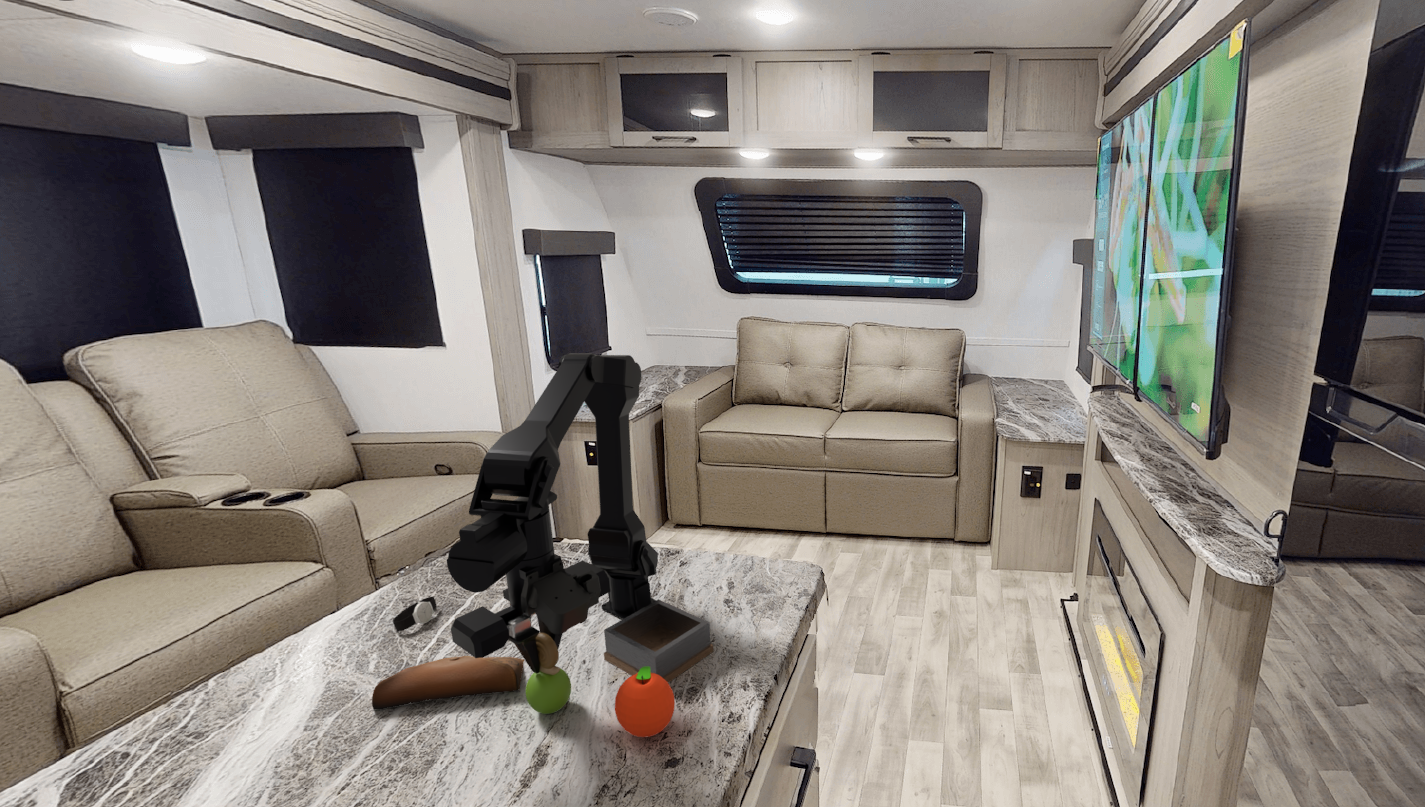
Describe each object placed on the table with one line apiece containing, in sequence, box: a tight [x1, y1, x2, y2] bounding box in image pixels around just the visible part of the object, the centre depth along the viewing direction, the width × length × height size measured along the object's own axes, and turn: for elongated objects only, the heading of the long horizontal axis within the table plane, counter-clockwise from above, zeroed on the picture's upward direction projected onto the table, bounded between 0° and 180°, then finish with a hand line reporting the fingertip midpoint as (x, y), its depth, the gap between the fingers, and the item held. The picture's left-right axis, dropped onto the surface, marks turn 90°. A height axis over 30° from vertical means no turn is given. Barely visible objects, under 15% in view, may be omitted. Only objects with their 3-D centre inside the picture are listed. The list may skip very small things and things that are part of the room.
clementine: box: [614, 666, 676, 738], centre depth 80 cm, size 8×7×7 cm
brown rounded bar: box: [371, 655, 525, 711], centre depth 90 cm, size 18×7×7 cm
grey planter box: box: [603, 599, 715, 684], centre depth 94 cm, size 11×11×4 cm
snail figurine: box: [525, 632, 572, 715], centre depth 84 cm, size 5×6×12 cm
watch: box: [392, 596, 438, 632], centre depth 107 cm, size 8×5×4 cm, turn 161°
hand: (543, 667), depth 84 cm, fingers closed
